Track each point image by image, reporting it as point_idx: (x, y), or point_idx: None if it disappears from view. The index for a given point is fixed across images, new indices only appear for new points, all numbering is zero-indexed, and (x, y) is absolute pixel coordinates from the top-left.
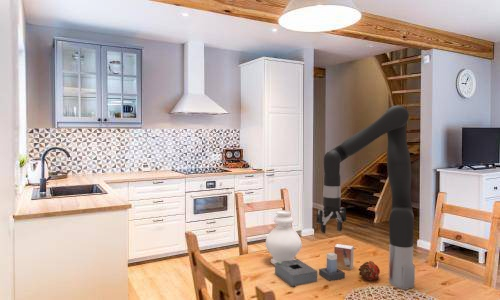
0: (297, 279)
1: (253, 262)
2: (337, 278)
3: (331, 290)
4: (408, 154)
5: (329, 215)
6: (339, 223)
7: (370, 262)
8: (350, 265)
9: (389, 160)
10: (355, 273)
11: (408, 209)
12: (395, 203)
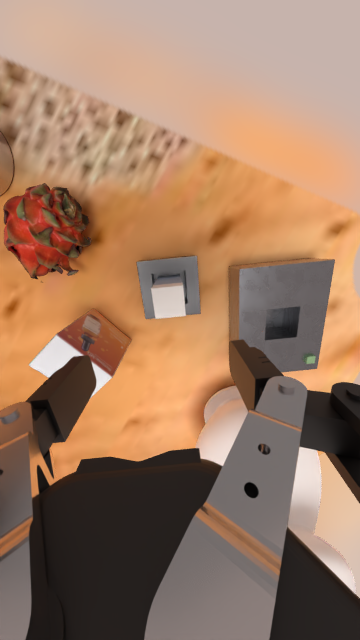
0: (306, 260)
1: None
2: (166, 258)
3: (221, 198)
4: None
5: (262, 519)
6: (54, 407)
7: (23, 218)
8: (87, 313)
9: None
10: (86, 289)
11: None
12: None
